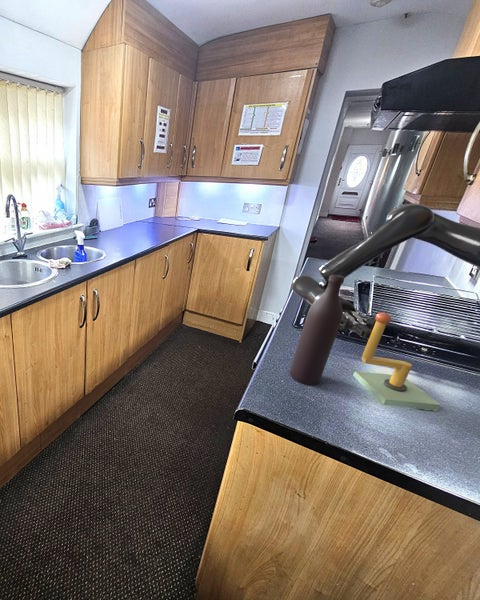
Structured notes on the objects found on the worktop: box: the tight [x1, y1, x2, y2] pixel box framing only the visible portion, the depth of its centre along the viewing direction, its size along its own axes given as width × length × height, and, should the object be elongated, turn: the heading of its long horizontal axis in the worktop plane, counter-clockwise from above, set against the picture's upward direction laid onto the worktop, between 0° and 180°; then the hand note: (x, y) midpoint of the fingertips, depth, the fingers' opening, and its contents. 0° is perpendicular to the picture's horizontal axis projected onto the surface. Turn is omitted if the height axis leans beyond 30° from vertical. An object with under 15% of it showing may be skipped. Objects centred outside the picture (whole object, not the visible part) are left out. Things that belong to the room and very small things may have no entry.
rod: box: [361, 312, 413, 387], centre depth 82 cm, size 11×3×19 cm, turn 71°
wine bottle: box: [289, 274, 345, 386], centre depth 84 cm, size 7×7×30 cm
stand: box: [352, 370, 441, 411], centre depth 85 cm, size 12×12×3 cm
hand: (368, 335), depth 83 cm, fingers closed
